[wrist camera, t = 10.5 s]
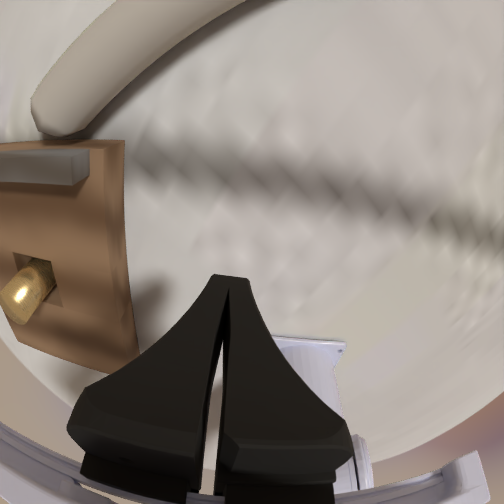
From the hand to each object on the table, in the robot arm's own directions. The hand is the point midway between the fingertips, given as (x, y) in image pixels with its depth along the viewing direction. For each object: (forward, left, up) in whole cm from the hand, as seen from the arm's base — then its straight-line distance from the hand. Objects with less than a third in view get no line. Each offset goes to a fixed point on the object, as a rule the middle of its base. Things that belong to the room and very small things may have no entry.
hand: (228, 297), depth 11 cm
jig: (-7, +16, -9) cm, 20 cm away
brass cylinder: (-7, +16, -9) cm, 20 cm away
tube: (+14, +5, -10) cm, 17 cm away
